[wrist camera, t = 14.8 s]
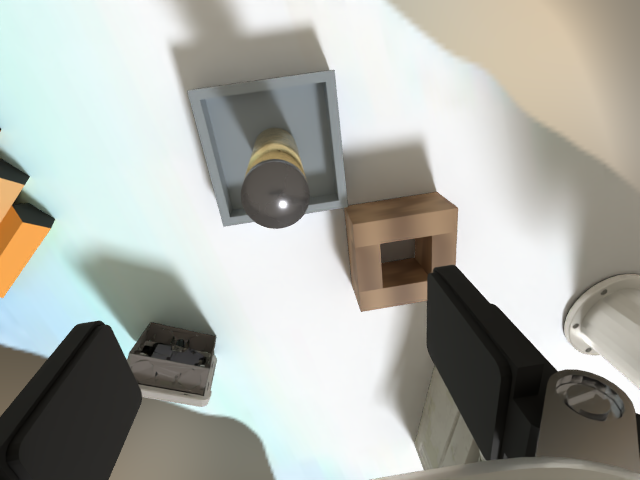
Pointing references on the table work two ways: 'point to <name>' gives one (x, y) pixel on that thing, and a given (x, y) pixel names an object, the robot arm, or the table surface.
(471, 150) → the table surface
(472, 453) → the geiger counter
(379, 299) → the brown square frame
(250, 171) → the brass pin
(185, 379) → the electrical switch
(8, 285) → the pan flute
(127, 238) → the table surface
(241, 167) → the parts tray
